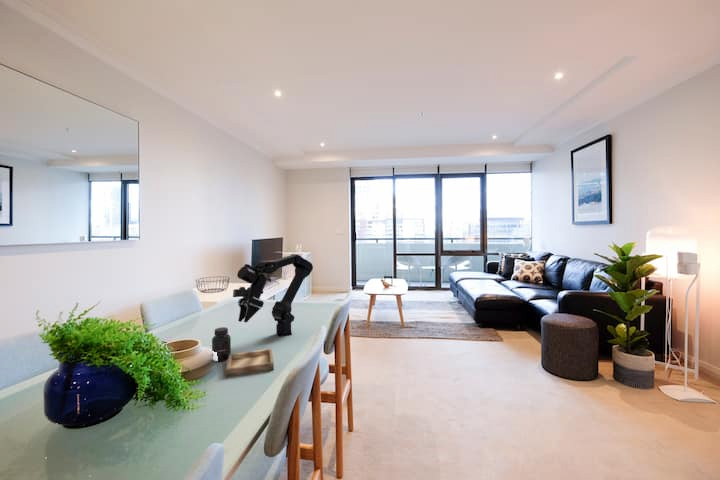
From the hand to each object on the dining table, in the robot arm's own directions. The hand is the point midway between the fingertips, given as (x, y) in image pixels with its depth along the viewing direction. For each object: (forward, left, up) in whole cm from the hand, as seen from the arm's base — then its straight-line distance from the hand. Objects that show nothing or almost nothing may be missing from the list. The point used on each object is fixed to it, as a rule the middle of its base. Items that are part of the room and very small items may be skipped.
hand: (242, 321), depth 132 cm
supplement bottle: (+8, +7, -12) cm, 16 cm away
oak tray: (-3, +17, -12) cm, 21 cm away
